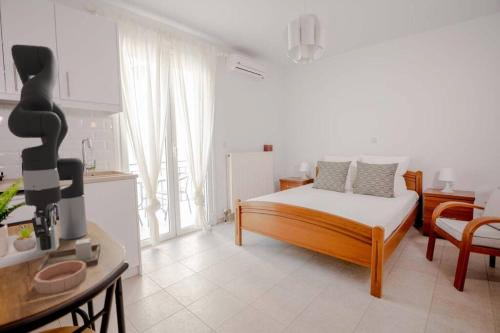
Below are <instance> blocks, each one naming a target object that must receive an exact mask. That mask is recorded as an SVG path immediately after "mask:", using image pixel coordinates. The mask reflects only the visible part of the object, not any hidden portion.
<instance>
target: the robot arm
mask: <svg viewBox="0 0 500 333" xmlns="http://www.w3.org/2000/svg"><path fill="white" fill-rule="evenodd" d="M10 48H11V51H10V53H11V57H12V61H13V63H14V66H15V68H16V71H17V74H18V76H19V78H20V81H21V85H22V87H21V90H20V98H19V102H18V103H17V105H16V106H15V107H14V108H13V109H12V110H11V112H10V114H9V116H8V120H7V127H8V130H9V132H10V133H12V135H14V136H15V137H17V138H21V139H40V140H41V143H42V144H40V145H36V146H30V147H26V148H24V149H22V150H21V162H22V172H23V173H22V183H23V184H22V185H23V192H24V193H23V194H24V202H25V204H26V206H29V207H32V206H33V207H35V211H33V217H32V218H31V224H32V228H33V231H34V234H35V239H36V238H40V247H41V250H42V251H43V250H49V249H51V247H52V245H51V231H50V228H51V227H52V226H54V225H57V224H58V223H59V229H60V230H59V231H60V239H62V240H74V239H79V238H81V237H84V236H86V235H87V234H88V227H87V226H88V224H87V215H86V214H87V212H86V203H85V201H86V200H85V192H84V190H85V187H84V184H85V183H84V165H83V161H82V160H81V158H78V157H67V158H66V157H65V158H64V157H63V158H61V157H60V156H59V150H60V147H61V144H62V143H63V141H64V139H65V138H66V136H67V134H68V131H69V126H68V121H67V117H66V114H65V112H64V110H63V109H62V108H61V106H60V105H59V104H58V103H57V102H56V101H54V99H53V98H54V96H53V95H54V89H55V85H56V84H57V78H58V75H59V62H58V59H57V55H56V53H55V51H54V49H52V48H50V47H49V46H43V45H31V44H30V45H29V44H13V45H12V46H11V47H10ZM62 181H71V184H70V185H68V186H67V187H64V188H61V183H60V182H62ZM56 203H57V205H56ZM54 204H55V205H54ZM57 210H58V220H59V221H58V223H57ZM41 230H44V231H45V232H41Z"/></svg>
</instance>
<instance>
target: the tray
mask: <svg viewBox="0 0 500 333" xmlns="http://www.w3.org/2000/svg"><path fill="white" fill-rule="evenodd" d="M91 248H92V256H91V259H89V260H84V261H83V262H85V263H86V267H90V266H95V265H98V263H99V258H100V254H101V243H98V244H91ZM71 260H74V261H77V260H76V250H75V247H73V248H69V249H62V250H56V251H50V252H46V255H45V256H44V258H43V260H42V262H41V263H40V264H39V266H38V268H37V269H36V270H35V275H36V274H37V273H38V272H40V271H41V270H43V269H45V268H46V267H49V266H52V265H54V264H57V263H61V262H66V261H71Z"/></svg>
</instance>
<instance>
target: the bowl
mask: <svg viewBox="0 0 500 333" xmlns="http://www.w3.org/2000/svg"><path fill="white" fill-rule="evenodd" d="M87 273H88V271H87V266H86V263H85V262H83V261H74V260H71V261H66V262H61V263H57V264H54V265H52V266H49V267H46V268H45V269H43V270H41V271H40V272H38V273H37V274H36V273H35V276H34V277H33V283H34V290H35V291H36V292H37V293H39V294H54V293H55V294H56V293H58V292H63V291H66V290H68V289H70V288H71V289H72V288H73V287H76V286H78V285H79V284H80V283H82V281H85V279H86V278H87V276H88V275H87Z"/></svg>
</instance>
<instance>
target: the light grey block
mask: <svg viewBox="0 0 500 333" xmlns="http://www.w3.org/2000/svg"><path fill="white" fill-rule="evenodd" d="M58 230H59V229H58V225H57V224H56V225H54V226H52V227H51V228H50V231H51V245H52V247H51V249H49V250H43V251H42V250H41V247H40V238H36V237H35V241H36V242H35V244H36V251H37V255H39V254H43V253H50V252H56V251H58V247H59V246H60V240H59V239H60V238H59V231H58ZM41 232H45V231H44V230H41Z"/></svg>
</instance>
